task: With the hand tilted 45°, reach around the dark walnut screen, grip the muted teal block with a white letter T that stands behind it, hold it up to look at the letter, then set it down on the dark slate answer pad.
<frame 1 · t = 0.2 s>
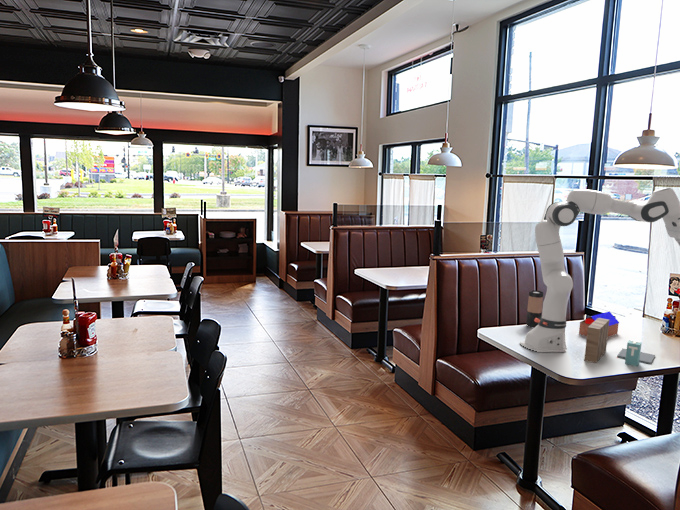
travel mug: (533, 326, 295), on the table
answer pad: (636, 356, 249), on the table
house: (598, 334, 284), on the table
lettered block: (631, 363, 239), on the table
walnut screen: (595, 355, 248), on the table
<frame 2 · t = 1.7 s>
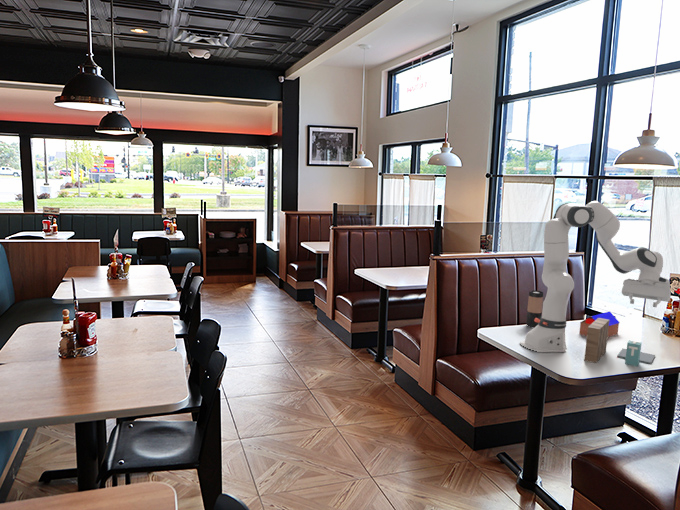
hand: (643, 304, 245), 26 cm above the table, tool tilted 45°, fingers open, 8 cm apart
nothing on the table moved.
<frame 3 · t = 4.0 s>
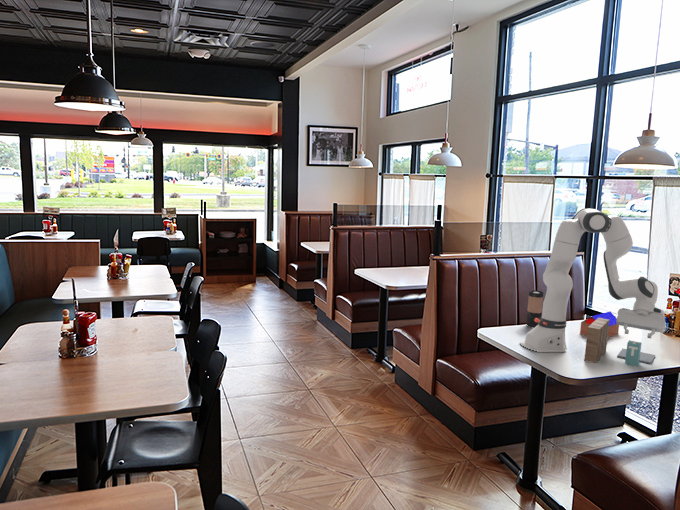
hand: (637, 335, 243), 12 cm above the table, tool tilted 45°, fingers open, 8 cm apart
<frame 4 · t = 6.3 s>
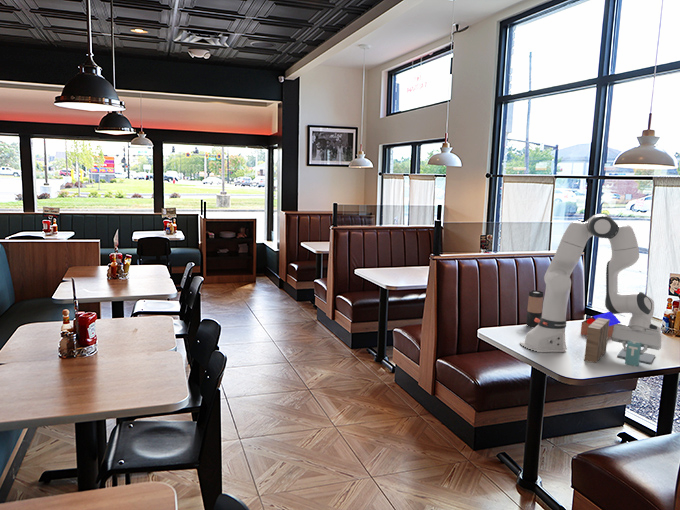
hand: (633, 352, 238), 5 cm above the table, tool tilted 45°, fingers closed on lettered block, 5 cm apart
lettered block: (631, 363, 239), on the table, touching gripper
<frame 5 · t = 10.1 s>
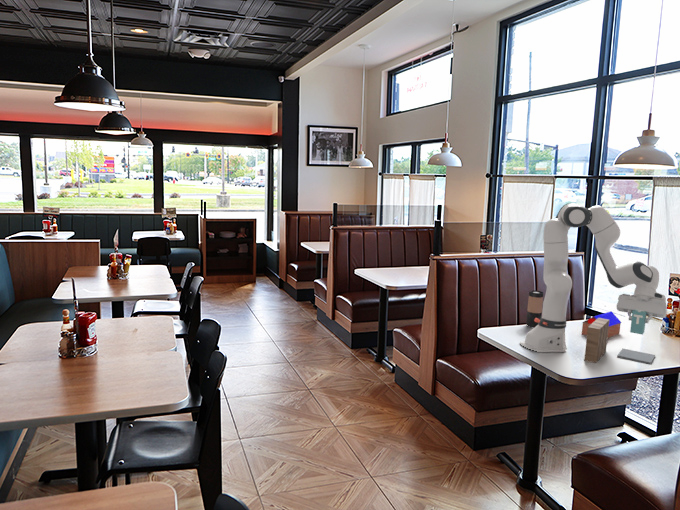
hand: (638, 321, 238), 20 cm above the table, tool tilted 45°, fingers closed on lettered block, 5 cm apart
lettered block: (637, 332, 240), point 14 cm above the table, touching gripper
when the fingers open (8 cm above the table, at t = 14.1 s): lettered block drops 1 cm, resting on answer pad.
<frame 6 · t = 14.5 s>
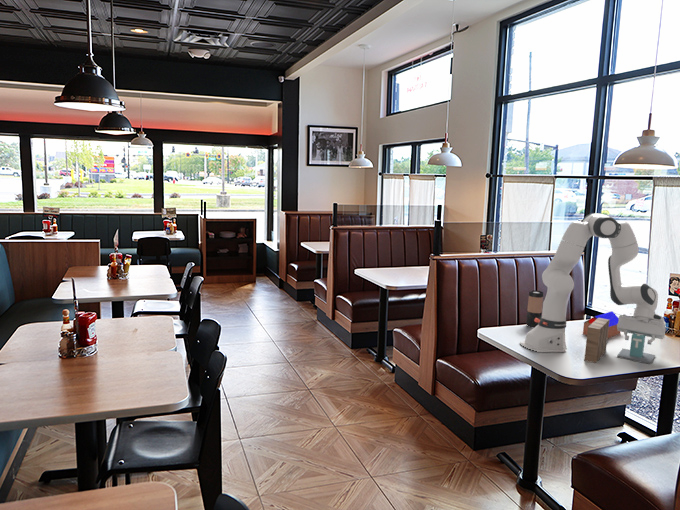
hand: (637, 341, 247), 8 cm above the table, tool tilted 45°, fingers open, 8 cm apart
lettered block: (636, 355, 248), point 1 cm above the table, touching answer pad
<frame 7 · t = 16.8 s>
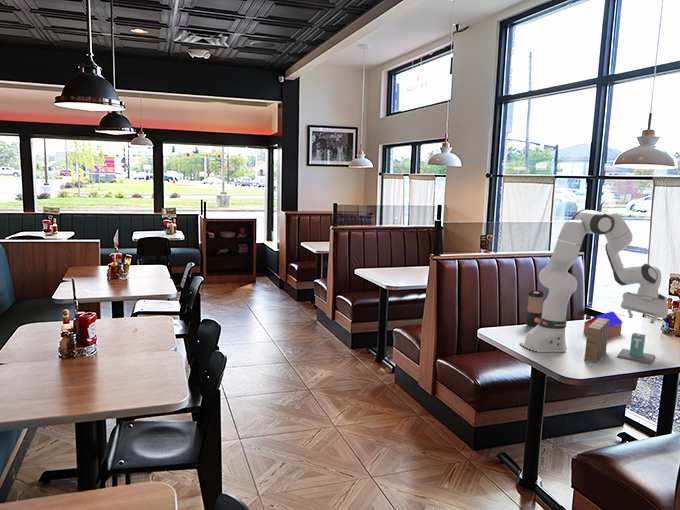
hand: (641, 320, 256), 15 cm above the table, tool tilted 40°, fingers open, 8 cm apart
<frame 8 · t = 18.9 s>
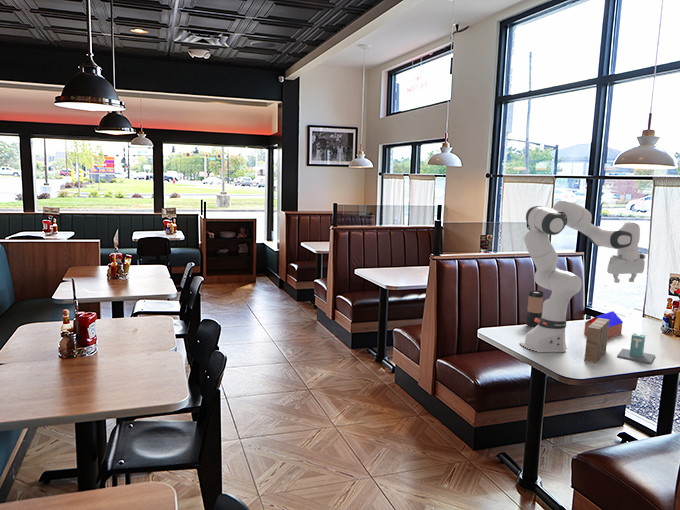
hand: (624, 282, 259), 33 cm above the table, tool pointing down, fingers open, 8 cm apart
at the end: lettered block 0.1 cm off-centre on the answer pad, point 0.8 cm above the answer pad's base; lettered block tilted 0°; the gripper is holding nothing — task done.
